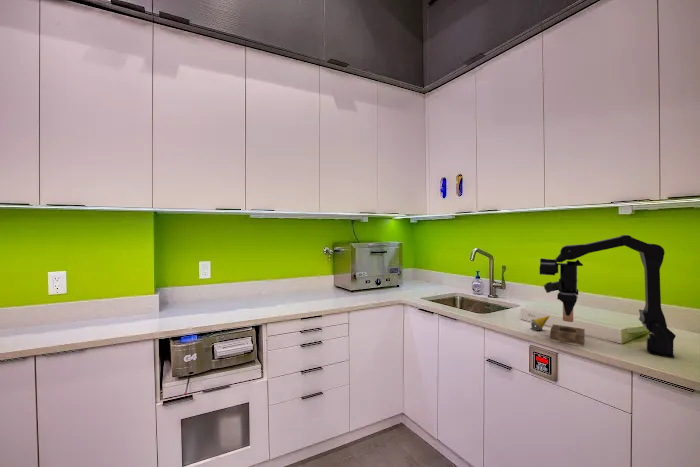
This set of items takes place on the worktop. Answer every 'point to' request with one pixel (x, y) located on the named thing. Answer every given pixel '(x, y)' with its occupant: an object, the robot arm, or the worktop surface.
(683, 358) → the worktop surface
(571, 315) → the peg
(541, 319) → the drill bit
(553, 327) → the hole block
